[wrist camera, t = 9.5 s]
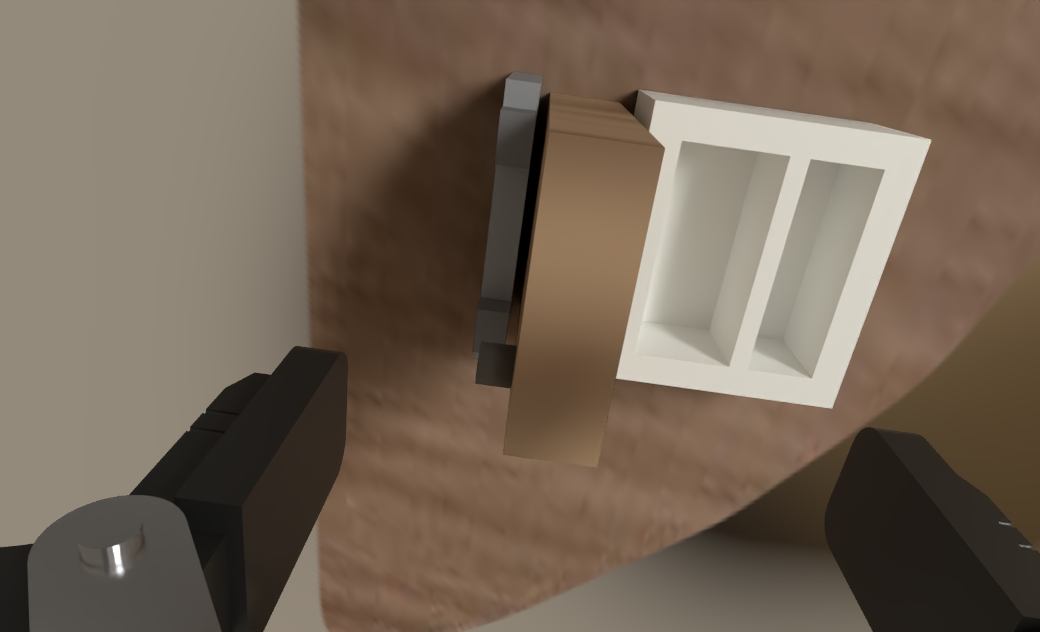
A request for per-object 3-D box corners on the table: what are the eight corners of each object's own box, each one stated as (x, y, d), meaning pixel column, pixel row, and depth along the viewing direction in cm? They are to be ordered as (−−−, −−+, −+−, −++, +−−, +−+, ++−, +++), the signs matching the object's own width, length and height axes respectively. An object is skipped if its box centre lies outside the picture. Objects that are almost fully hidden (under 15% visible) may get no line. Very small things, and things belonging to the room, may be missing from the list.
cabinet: (513, 71, 22) (503, 81, 18) (869, 122, 23) (950, 145, 18) (484, 312, 26) (470, 372, 21) (792, 355, 26) (843, 424, 22)
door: (521, 88, 23) (500, 124, 14) (619, 102, 23) (665, 147, 14) (494, 302, 26) (463, 449, 17) (580, 313, 26) (596, 467, 17)
